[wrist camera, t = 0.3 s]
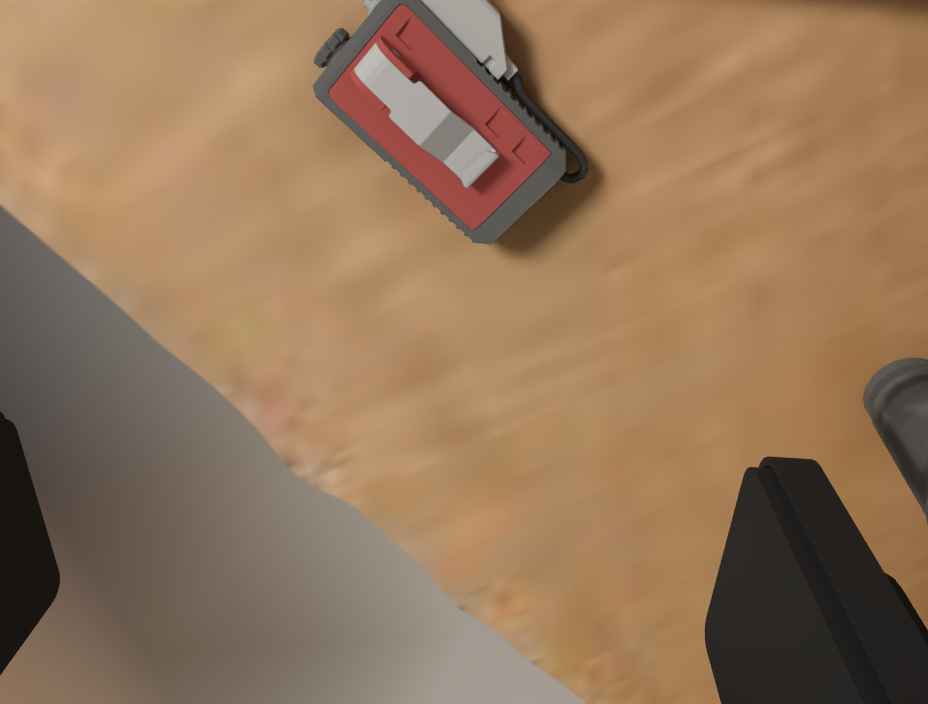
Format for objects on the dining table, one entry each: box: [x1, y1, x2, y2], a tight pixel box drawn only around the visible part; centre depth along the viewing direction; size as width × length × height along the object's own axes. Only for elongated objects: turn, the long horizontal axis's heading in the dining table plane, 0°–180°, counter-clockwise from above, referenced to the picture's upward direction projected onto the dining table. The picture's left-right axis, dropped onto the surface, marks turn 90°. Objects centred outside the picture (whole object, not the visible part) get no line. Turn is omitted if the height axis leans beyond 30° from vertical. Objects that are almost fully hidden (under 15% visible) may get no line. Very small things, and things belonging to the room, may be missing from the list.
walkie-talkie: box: [313, 0, 588, 244], centre depth 34 cm, size 9×4×20 cm
